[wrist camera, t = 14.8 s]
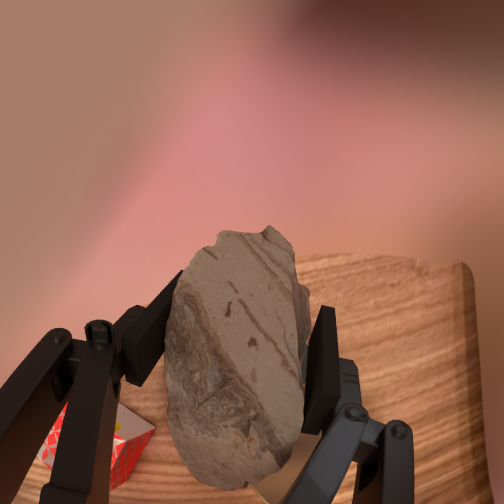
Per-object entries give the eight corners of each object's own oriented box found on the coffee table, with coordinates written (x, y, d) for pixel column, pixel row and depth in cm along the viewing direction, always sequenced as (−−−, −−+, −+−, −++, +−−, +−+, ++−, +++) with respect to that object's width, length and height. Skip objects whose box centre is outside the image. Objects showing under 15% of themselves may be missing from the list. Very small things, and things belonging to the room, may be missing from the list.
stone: (238, 236, 23) (114, 249, 15) (349, 212, 17) (233, 212, 10) (270, 415, 23) (178, 479, 15) (369, 432, 17) (291, 534, 10)
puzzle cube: (156, 427, 26) (126, 441, 18) (126, 481, 23) (93, 504, 16) (94, 384, 27) (53, 382, 20) (68, 437, 24) (26, 446, 17)
